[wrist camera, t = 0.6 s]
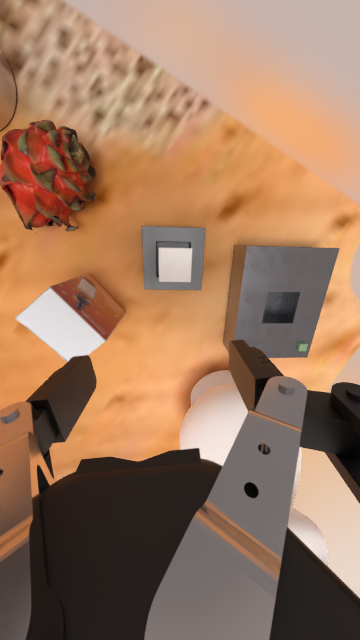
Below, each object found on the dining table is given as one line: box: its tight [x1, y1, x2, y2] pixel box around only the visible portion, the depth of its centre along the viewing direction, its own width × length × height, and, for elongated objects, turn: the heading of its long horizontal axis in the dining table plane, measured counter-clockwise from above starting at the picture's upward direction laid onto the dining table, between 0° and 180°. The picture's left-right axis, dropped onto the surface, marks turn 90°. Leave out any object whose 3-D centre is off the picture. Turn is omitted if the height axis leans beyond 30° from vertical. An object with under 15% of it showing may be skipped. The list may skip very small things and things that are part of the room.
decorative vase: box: [179, 370, 328, 566], centre depth 27 cm, size 18×18×25 cm
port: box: [223, 246, 339, 358], centre depth 29 cm, size 16×12×6 cm
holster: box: [142, 226, 205, 290], centre depth 27 cm, size 8×8×3 cm
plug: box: [159, 247, 192, 282], centre depth 24 cm, size 3×3×10 cm
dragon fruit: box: [0, 120, 96, 236], centre depth 22 cm, size 8×8×12 cm
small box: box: [16, 274, 126, 362], centre depth 26 cm, size 8×6×10 cm
